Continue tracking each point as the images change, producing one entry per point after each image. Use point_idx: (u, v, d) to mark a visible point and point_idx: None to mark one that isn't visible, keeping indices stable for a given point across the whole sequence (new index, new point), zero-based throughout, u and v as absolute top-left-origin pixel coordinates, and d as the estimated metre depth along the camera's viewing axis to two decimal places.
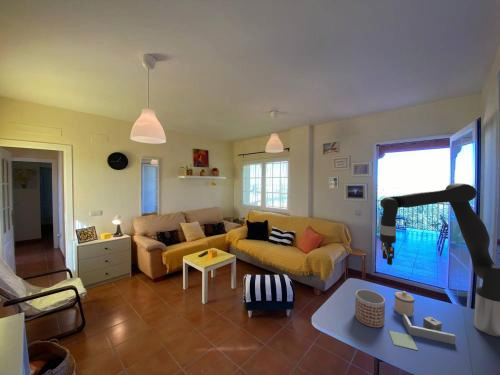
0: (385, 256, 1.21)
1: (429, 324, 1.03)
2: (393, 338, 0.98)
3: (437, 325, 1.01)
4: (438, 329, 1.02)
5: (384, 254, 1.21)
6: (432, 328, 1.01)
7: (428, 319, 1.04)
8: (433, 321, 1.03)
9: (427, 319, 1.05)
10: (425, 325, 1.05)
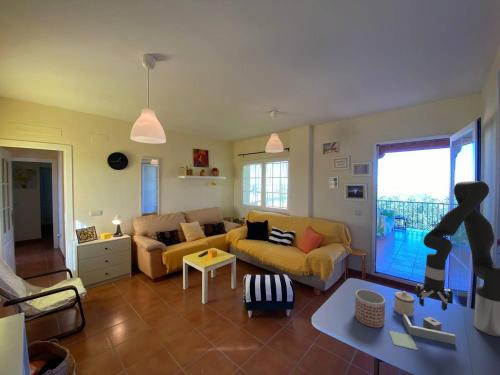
0: None
1: (429, 324, 1.03)
2: (393, 338, 0.98)
3: (437, 325, 1.01)
4: (438, 329, 1.01)
5: None
6: (432, 328, 1.01)
7: (428, 319, 1.04)
8: (433, 321, 1.03)
9: (427, 319, 1.04)
10: (425, 325, 1.04)
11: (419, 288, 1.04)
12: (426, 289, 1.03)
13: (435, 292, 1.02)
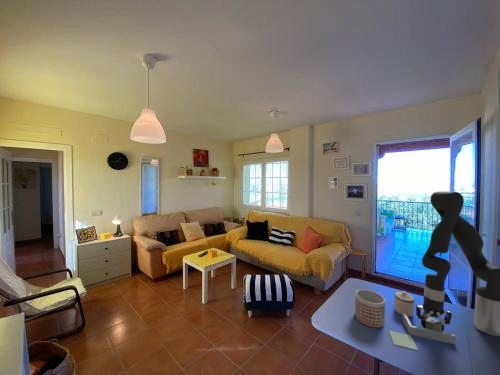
0: None
1: (429, 324, 1.02)
2: (393, 338, 0.98)
3: (437, 325, 1.01)
4: (438, 330, 1.01)
5: None
6: (432, 328, 1.01)
7: (428, 319, 1.04)
8: (433, 321, 1.03)
9: (427, 319, 1.04)
10: (425, 325, 1.04)
11: (419, 310, 1.04)
12: (425, 310, 1.04)
13: (434, 313, 1.02)
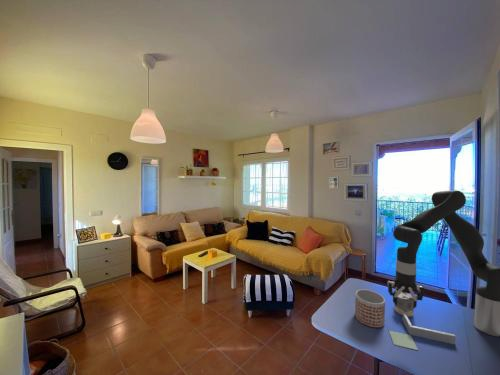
0: None
1: (400, 301, 0.95)
2: (393, 338, 0.98)
3: (408, 301, 0.93)
4: (410, 306, 0.94)
5: None
6: (403, 305, 0.94)
7: (400, 296, 0.97)
8: (405, 298, 0.95)
9: (399, 296, 0.97)
10: None
11: (390, 285, 0.97)
12: (397, 286, 0.96)
13: (406, 288, 0.95)
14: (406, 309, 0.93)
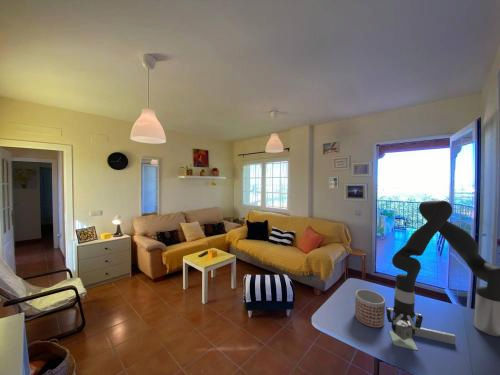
0: None
1: (399, 328, 0.96)
2: (393, 338, 0.98)
3: (407, 329, 0.94)
4: (408, 334, 0.94)
5: None
6: (401, 333, 0.94)
7: (398, 323, 0.97)
8: (403, 325, 0.96)
9: (397, 323, 0.97)
10: None
11: (389, 312, 0.98)
12: (396, 313, 0.97)
13: (405, 316, 0.96)
14: (404, 337, 0.94)
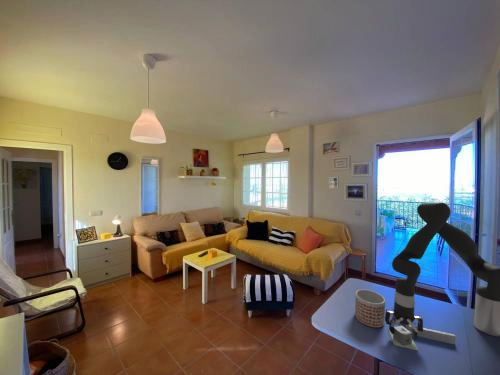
0: None
1: (398, 334, 0.96)
2: (393, 338, 0.98)
3: (406, 335, 0.94)
4: (408, 339, 0.94)
5: None
6: (401, 338, 0.95)
7: (398, 328, 0.98)
8: (403, 331, 0.96)
9: (397, 328, 0.98)
10: (395, 335, 0.98)
11: (388, 315, 0.98)
12: (396, 316, 0.97)
13: (405, 319, 0.96)
14: (404, 343, 0.94)
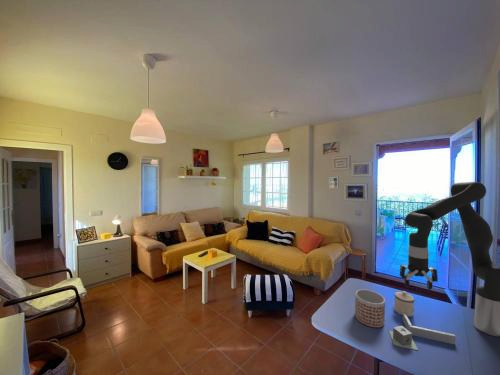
0: None
1: (398, 334, 0.96)
2: (393, 338, 0.98)
3: (406, 335, 0.94)
4: (408, 340, 0.94)
5: None
6: (401, 338, 0.95)
7: (398, 328, 0.98)
8: (403, 331, 0.96)
9: (397, 328, 0.98)
10: (395, 335, 0.98)
11: (403, 269, 1.01)
12: (410, 269, 1.00)
13: (419, 271, 0.99)
14: (404, 343, 0.94)
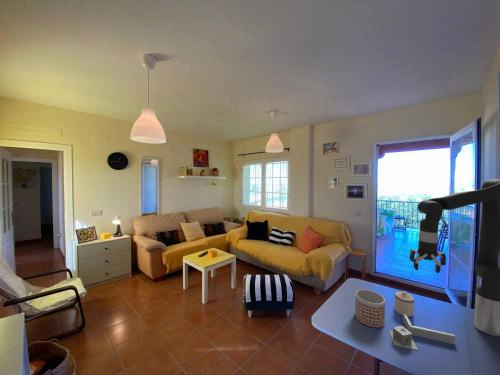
0: None
1: (398, 334, 0.96)
2: (393, 338, 0.98)
3: (406, 335, 0.94)
4: (408, 340, 0.94)
5: None
6: (401, 338, 0.94)
7: (398, 328, 0.97)
8: (403, 331, 0.96)
9: (397, 328, 0.97)
10: (395, 335, 0.98)
11: (413, 252, 1.07)
12: (420, 253, 1.06)
13: (429, 255, 1.05)
14: (404, 343, 0.94)
